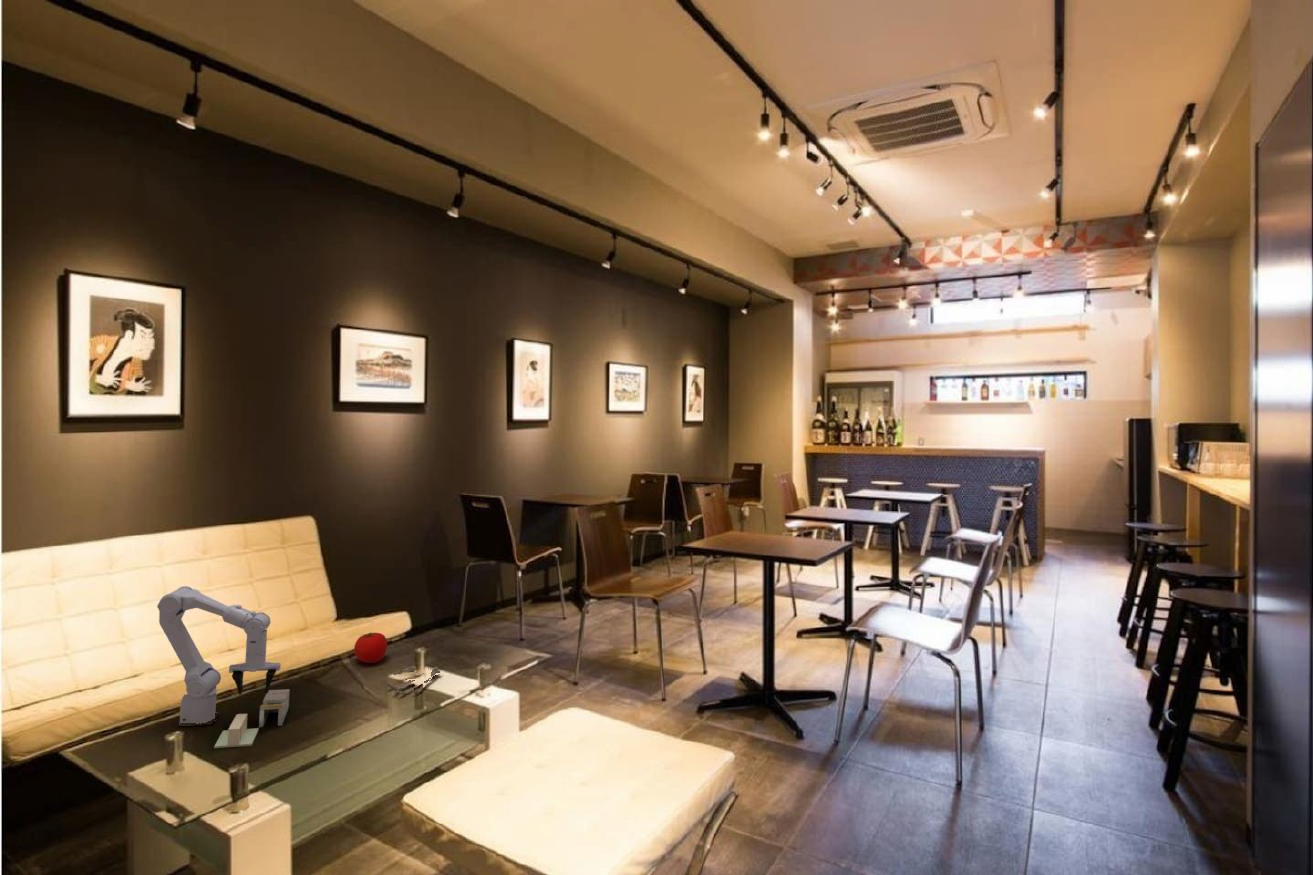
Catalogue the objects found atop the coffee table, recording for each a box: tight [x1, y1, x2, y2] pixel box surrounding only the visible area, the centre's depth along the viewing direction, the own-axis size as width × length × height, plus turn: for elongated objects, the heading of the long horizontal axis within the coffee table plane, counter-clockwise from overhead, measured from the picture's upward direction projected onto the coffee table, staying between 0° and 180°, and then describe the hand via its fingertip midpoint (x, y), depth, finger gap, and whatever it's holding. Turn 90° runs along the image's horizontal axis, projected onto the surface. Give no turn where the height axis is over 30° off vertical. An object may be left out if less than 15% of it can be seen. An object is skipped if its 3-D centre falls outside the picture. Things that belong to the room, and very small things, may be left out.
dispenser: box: [258, 688, 291, 728], centre depth 233 cm, size 7×12×7 cm, turn 19°
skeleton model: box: [383, 666, 441, 695], centre depth 266 cm, size 24×13×5 cm, turn 172°
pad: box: [213, 727, 260, 749], centre depth 218 cm, size 10×10×1 cm
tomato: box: [353, 631, 388, 664], centre depth 285 cm, size 12×14×11 cm
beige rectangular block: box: [227, 713, 248, 745], centre depth 218 cm, size 3×10×5 cm, turn 18°
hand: (253, 692), depth 229 cm, fingers open, 7 cm apart
